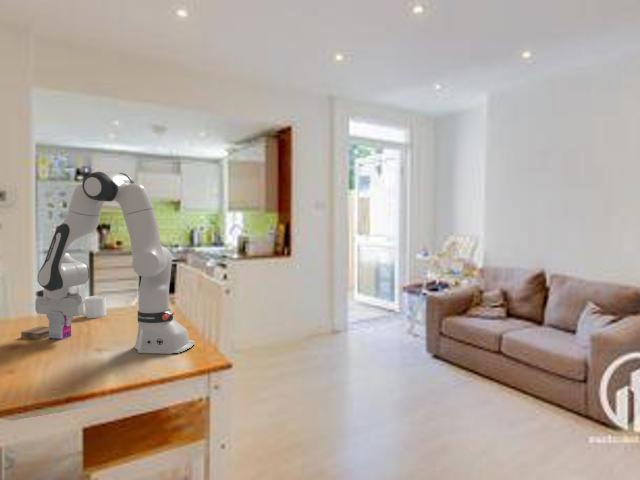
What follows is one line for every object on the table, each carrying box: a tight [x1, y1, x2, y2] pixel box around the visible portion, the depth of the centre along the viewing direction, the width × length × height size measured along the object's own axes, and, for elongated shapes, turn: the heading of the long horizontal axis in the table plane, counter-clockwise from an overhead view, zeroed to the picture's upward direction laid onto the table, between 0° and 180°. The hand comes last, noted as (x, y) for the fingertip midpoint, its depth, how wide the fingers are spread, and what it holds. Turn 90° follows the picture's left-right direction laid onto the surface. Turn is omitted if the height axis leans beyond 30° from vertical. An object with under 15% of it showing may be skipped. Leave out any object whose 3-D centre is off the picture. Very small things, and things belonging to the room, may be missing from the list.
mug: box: [81, 295, 107, 319], centre depth 212 cm, size 12×9×9 cm
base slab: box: [20, 325, 49, 340], centre depth 179 cm, size 9×9×2 cm
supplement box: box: [48, 311, 72, 341], centre depth 177 cm, size 6×6×12 cm
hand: (60, 325), depth 177 cm, fingers closed on supplement box, 6 cm apart
